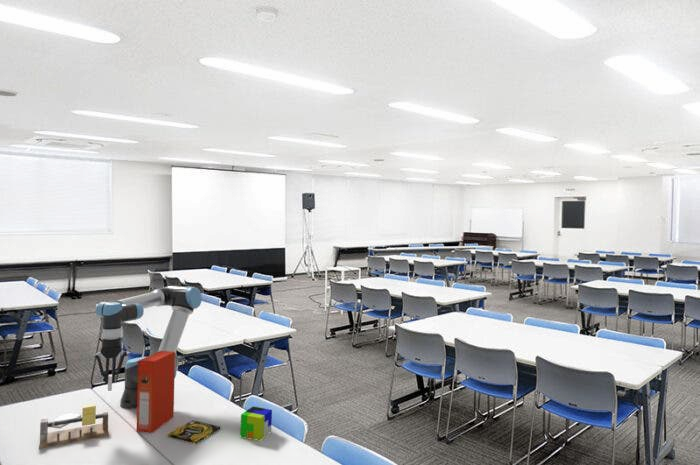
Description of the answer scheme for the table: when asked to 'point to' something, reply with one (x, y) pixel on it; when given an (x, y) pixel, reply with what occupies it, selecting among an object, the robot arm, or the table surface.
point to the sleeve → (88, 415)
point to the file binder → (155, 391)
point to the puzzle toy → (256, 423)
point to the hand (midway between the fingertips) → (109, 389)
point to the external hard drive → (66, 416)
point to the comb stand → (71, 431)
